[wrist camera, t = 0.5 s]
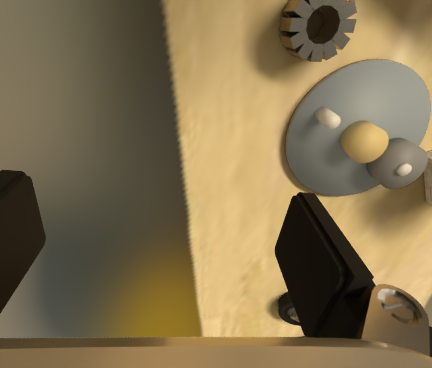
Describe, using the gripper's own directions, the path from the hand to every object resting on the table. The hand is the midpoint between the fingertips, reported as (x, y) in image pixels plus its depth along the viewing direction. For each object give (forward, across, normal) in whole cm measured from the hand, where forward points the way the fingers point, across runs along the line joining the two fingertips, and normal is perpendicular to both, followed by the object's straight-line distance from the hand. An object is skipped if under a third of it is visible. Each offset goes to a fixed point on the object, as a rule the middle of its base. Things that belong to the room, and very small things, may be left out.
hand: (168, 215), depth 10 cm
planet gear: (+27, -14, -8) cm, 31 cm away
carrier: (+27, -25, +5) cm, 37 cm away
